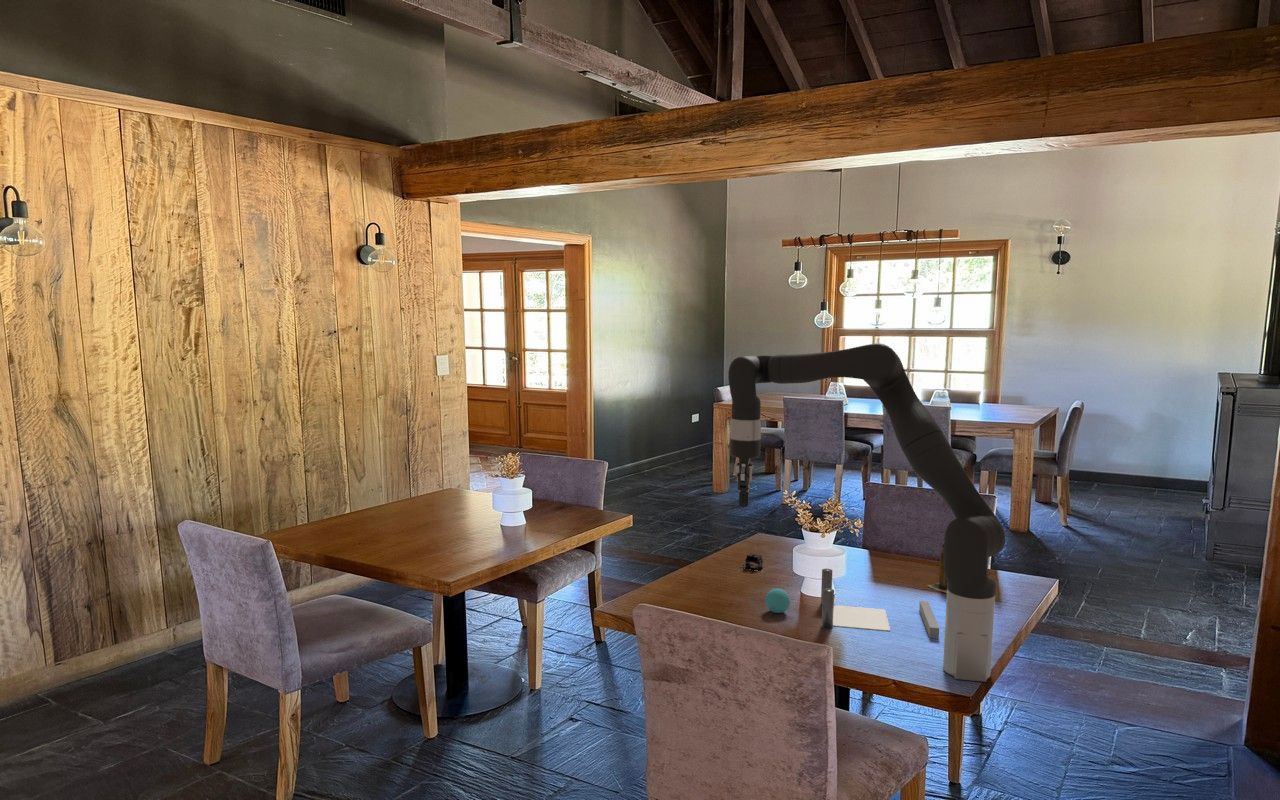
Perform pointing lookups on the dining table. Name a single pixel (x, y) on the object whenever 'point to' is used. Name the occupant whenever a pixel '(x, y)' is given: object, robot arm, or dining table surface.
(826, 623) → the post front
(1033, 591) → the dining table surface
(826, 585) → the post back
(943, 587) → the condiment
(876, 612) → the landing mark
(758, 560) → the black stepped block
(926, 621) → the wall
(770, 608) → the ball
